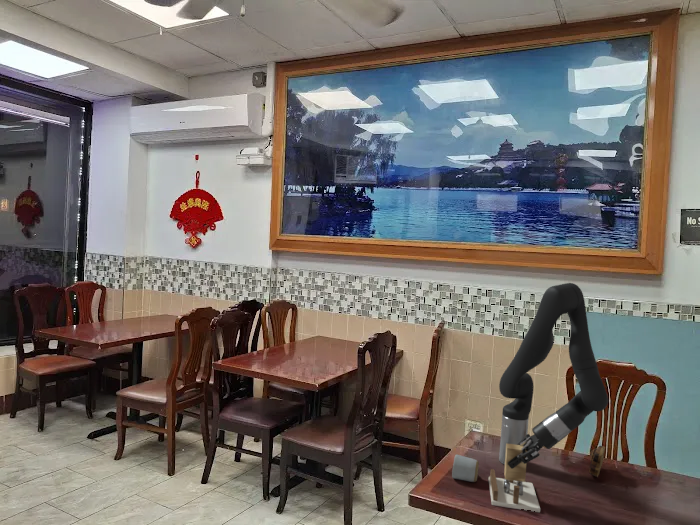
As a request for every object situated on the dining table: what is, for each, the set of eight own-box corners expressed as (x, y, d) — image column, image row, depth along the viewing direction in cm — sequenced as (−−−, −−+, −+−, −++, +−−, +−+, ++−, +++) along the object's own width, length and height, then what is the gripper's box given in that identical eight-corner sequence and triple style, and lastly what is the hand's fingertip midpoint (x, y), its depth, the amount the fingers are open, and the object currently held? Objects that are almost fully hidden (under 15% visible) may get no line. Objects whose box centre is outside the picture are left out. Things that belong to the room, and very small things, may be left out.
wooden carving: (589, 464, 192) (592, 438, 191) (603, 467, 189) (605, 441, 189) (586, 481, 177) (589, 453, 177) (601, 485, 175) (603, 456, 174)
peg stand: (531, 486, 171) (532, 483, 171) (540, 512, 154) (540, 508, 154) (488, 480, 173) (488, 476, 173) (491, 504, 157) (492, 501, 157)
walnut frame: (512, 480, 171) (513, 466, 171) (518, 504, 156) (519, 488, 156) (490, 477, 173) (491, 463, 173) (493, 500, 157) (494, 484, 157)
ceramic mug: (476, 486, 168) (478, 463, 168) (451, 481, 171) (452, 458, 171) (478, 473, 178) (480, 451, 178) (454, 469, 181) (456, 447, 181)
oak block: (523, 476, 165) (525, 445, 164) (525, 482, 161) (527, 450, 160) (504, 473, 166) (506, 443, 166) (505, 479, 162) (507, 448, 162)
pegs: (521, 490, 165) (522, 480, 165) (522, 496, 161) (523, 486, 161) (503, 487, 166) (504, 478, 166) (504, 493, 162) (505, 483, 162)
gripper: (539, 413, 168) (498, 445, 171) (547, 428, 154) (502, 462, 157) (555, 431, 167) (514, 463, 170) (564, 448, 153) (519, 482, 156)
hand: (509, 462), depth 164 cm, fingers closed on oak block, 4 cm apart
